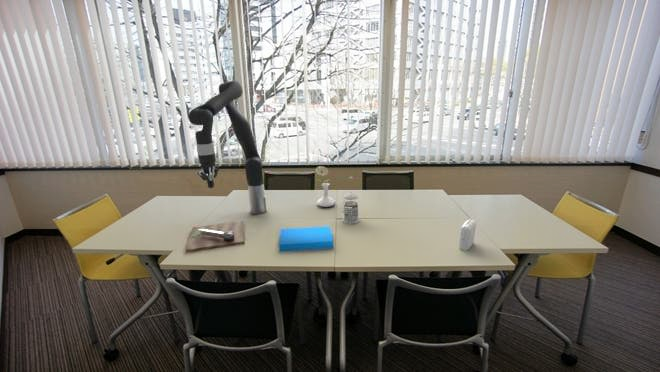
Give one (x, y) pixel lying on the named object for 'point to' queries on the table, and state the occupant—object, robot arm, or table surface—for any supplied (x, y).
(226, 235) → the tuning lever
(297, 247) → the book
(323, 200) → the flower in vase
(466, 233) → the photo printer
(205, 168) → the robot arm
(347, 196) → the french press
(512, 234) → the table surface
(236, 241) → the dial plate
